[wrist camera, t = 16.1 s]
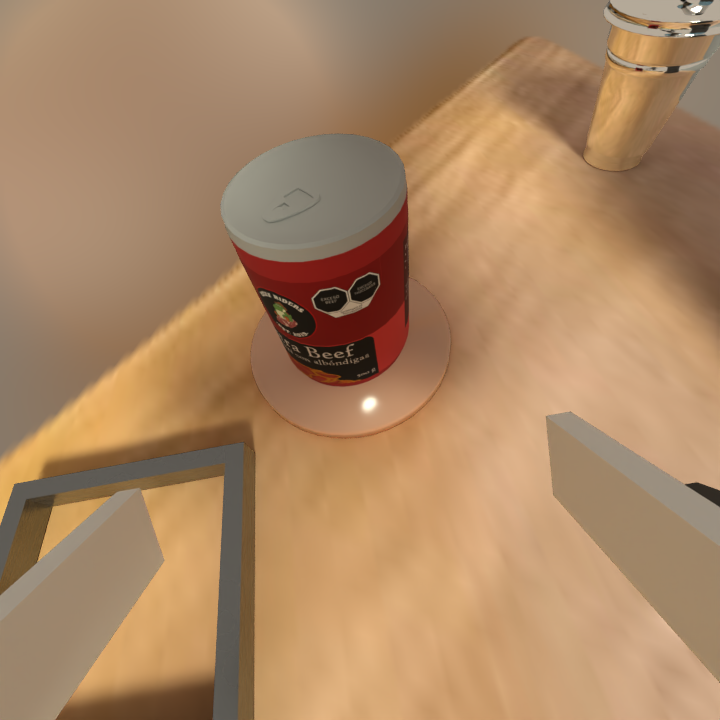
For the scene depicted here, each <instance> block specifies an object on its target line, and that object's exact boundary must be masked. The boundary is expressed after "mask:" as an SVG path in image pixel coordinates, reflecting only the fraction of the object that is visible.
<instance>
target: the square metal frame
mask: <svg viewBox="0 0 720 720" xmlns="http://www.w3.org/2000/svg"><path fill="white" fill-rule="evenodd" d="M223 475H224V496H223V517H222V538H221V559H220V579H219V600H218V621H217V642H216V663H215V684H214V705H213V720H254V562H255V452H254V451H252V450H251V449H250V448H249V447H248V446H247V445H246V444H245V443H244V442H241V443H236V444H230V445H225V446H219V447H214V448H208V449H203V450H197V451H192V452H187V453H181V454H176V455H170V456H165V457H159V458H154V459H148V460H143V461H137V462H132V463H126V464H121V465H115V466H110V467H105V468H99V469H94V470H88V471H83V472H77V473H72V474H66V475H61V476H55V477H50V478H44V479H39V480H34V481H28V482H23V483H17V484H14V487H13V490H12V493H11V496H10V499H9V502H8V505H7V508H6V511H5V513H4V516H3V519H2V522H1V525H0V595H1V594H2V593H4V592H5V591H6V590H7V589H8V588H9V587H10V586H11V585H13V584H14V583H15V582H16V581H17V580H18V579H19V578H21V577H22V576H23V575H24V574H25V573H26V572H27V571H28V570H30V569H31V568H32V567H33V566H34V565H35V564H36V562H37V559H38V555H39V552H40V548H41V544H42V541H43V537H44V534H45V530H46V527H47V523H48V519H49V516H50V512H51V509H52V506H58V505H63V504H69V503H74V502H80V501H85V500H91V499H96V498H102V497H107V496H113V495H114V494H115V493H116V492H119V491H124V490H130V489H136V488H140V490H146V489H151V488H157V487H162V486H168V485H173V484H179V483H184V482H190V481H195V480H201V479H206V478H212V477H217V476H223Z"/></svg>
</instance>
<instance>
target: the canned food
mask: <svg viewBox="0 0 720 720" xmlns="http://www.w3.org/2000/svg"><path fill="white" fill-rule="evenodd" d="M221 216H222V218H223V221H224V223H225V228H226V230H227V232H228V234H229V237H230V239H231V241H232V243H233V245H234V247H235V249H236V252H237V254H238V256H239V258H240V260H241V262H242V264H243V266H244V268H245V270H246V272H247V274H248V276H249V278H250V280H251V282H252V284H253V286H254V288H255V290H256V292H257V294H258V296H259V298H260V300H261V302H262V304H263V306H264V308H265V310H266V312H267V314H268V316H269V318H270V320H271V322H272V324H273V325H274V327H275V329H276V331H277V333H278V335H279V337H280V339H281V341H282V343H283V345H284V347H285V349H286V351H287V353H288V355H289V357H290V359H291V361H292V362H293V364H294V365H295V366H296V367H297V369H298V370H300V371H301V372H302V373H304V374H305V375H306V376H308V377H309V378H311V379H312V380H315V381H317V382H319V383H321V384H325V385H329V386H339V387H346V386H354V385H358V384H361V383H365V382H368V381H370V380H372V379H374V378H376V377H378V376H379V375H381V374H382V373H383V372H385V371H386V370H387V369H389V367H390V366H391V365H392V364H393V363H394V362H395V361H396V359H397V358H398V356H399V355H400V353H401V351H402V349H403V347H404V345H405V343H406V340H407V337H408V331H409V256H408V204H407V183H406V177H405V170H404V164H403V163H402V161H401V159H400V157H399V155H398V154H396V153H395V152H394V151H393V150H392V149H391V148H390V147H388V146H387V145H385V144H383V143H382V142H380V141H377V140H374V139H371V138H369V137H364V136H359V135H353V134H324V135H317V136H311V137H305V138H302V139H298V140H294V141H291V142H288V143H285V144H283V145H280V146H278V147H275V148H273V149H271V150H269V151H267V152H265V153H263V154H261V155H260V156H258V157H257V158H255V159H254V160H252V161H251V162H249V163H248V164H247V165H246V166H245V167H243V168H242V169H241V170H240V171H239V172H238V173H237V174H236V175H235V176H234V178H233V179H232V180H231V181H230V182H229V184H228V186H227V188H226V189H225V191H224V193H223V197H222V201H221Z"/></svg>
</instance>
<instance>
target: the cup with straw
mask: <svg viewBox="0 0 720 720" xmlns="http://www.w3.org/2000/svg"><path fill="white" fill-rule="evenodd" d="M603 12H604V18H605V19H606V21H607V22H609V23H610V24H611V28H610V32H609V36H608V39H607V44H608V46H607V50H606V54H605V59H606V63H605V66H604V70H603V74H602V78H601V82H600V87H599V91H598V95H597V99H596V103H595V107H594V111H593V115H592V119H591V123H590V127H589V131H588V135H587V139H586V143H587V146H586V148H585V149H584V152H583V157H584V159H585V161H586V162H587V163H589V164H590V165H592V166H593V167H596V168H598V169H602V170H607V171H624V170H628V169H632V168H634V167H636V166H637V165H638V164H639V163H640V161H641V159H642V155H643V154H644V153H645V152H646V151H647V150H648V149H649V148H650V146H651V145H652V143H653V141H654V140H655V138H656V137H657V135H658V134H659V132H660V131H661V129H662V128H663V126H664V125H665V123H666V121H667V120H668V118H669V117H670V115H671V114H672V112H673V111H674V109H675V108H676V106H677V104H678V103H679V101H680V100H681V98H682V97H683V95H684V94H685V92H686V90H687V89H688V87H689V86H690V84H691V83H692V81H693V80H694V78H695V77H696V75H697V73H698V72H699V71H700V69H701V68H703V67H704V66H705V65H706V63H707V62H708V60H709V59H710V57H711V56H712V55H713V54H714V53H715V52H716V51H717V49H718V48H719V46H720V0H609V2H608V4H607V5H606V6H605V8H604V10H603Z"/></svg>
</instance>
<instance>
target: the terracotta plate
mask: <svg viewBox="0 0 720 720" xmlns="http://www.w3.org/2000/svg"><path fill="white" fill-rule="evenodd" d="M450 346H451V336H450V328H449V323H448V320H447V318H446V315H445V312H444V310H443V309H442V307H441V305H440V303H439V302H438V301H437V300H436V298H435V297H434V296H433V294H431V293H430V292H429V291H428V290H427V289H426V288H425V287H424V286H423V285H421V284H420V283H418V282H417V281H415V280H414V279H412V278H410V277H409V331H408V337H407V340H406V343H405V345H404V347H403V349H402V351H401V353H400V355H399V356H398V358H397V359H396V361H395V362H394V363H393V364H392V365H391V366H390V367H389V369H387V370H386V371H385V372H383V373H382V374H381V375H379V376H378V377H376V378H374V379H372V380H370V381H368V382H365V383H361V384H358V385H354V386H346V387H339V386H329V385H325V384H321V383H319V382H317V381H315V380H312V379H311V378H309V377H308V376H306V375H305V374H304V373H302V372H301V371H300V370H298V369H297V367H296V366H295V365H294V364H293V362H292V361H291V359H290V357H289V355H288V353H287V351H286V349H285V347H284V345H283V343H282V341H281V339H280V337H279V335H278V333H277V331H276V329H275V327H274V325H273V324H272V322H271V320H270V318H269V316H268V314H267V312H265V314H264V315H263V317H262V318H261V320H260V322H259V324H258V326H257V329H256V331H255V334H254V337H253V341H252V347H251V367H252V372H253V376H254V379H255V382H256V384H257V386H258V388H259V390H260V392H261V393H262V395H263V396H264V398H265V399H266V400H267V402H268V403H269V404H270V406H271V407H272V408H273V410H274V411H275V412H277V413H278V414H279V415H280V416H281V417H282V418H283V419H284V420H286V421H287V422H289V423H290V424H292V425H293V426H295V427H297V428H300V429H302V430H304V431H306V432H309V433H312V434H315V435H319V436H325V437H330V438H357V437H364V436H369V435H374V434H377V433H380V432H383V431H386V430H389V429H391V428H393V427H395V426H397V425H399V424H401V423H403V422H404V421H406V420H407V419H409V418H411V417H412V416H414V415H415V414H416V413H417V412H418V411H419V410H421V409H422V408H423V407H424V406H425V405H426V404H427V403H428V401H429V400H430V399H431V398H432V397H433V395H434V394H435V392H436V391H437V389H438V388H439V386H440V384H441V382H442V380H443V378H444V376H445V373H446V369H447V366H448V361H449V354H450Z"/></svg>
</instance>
